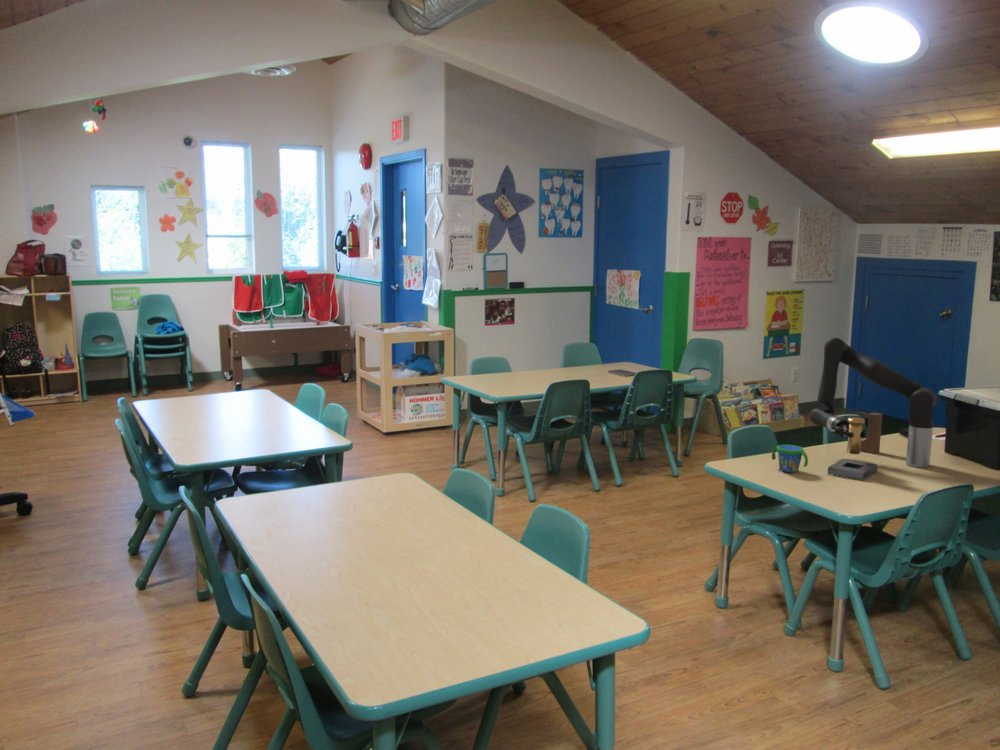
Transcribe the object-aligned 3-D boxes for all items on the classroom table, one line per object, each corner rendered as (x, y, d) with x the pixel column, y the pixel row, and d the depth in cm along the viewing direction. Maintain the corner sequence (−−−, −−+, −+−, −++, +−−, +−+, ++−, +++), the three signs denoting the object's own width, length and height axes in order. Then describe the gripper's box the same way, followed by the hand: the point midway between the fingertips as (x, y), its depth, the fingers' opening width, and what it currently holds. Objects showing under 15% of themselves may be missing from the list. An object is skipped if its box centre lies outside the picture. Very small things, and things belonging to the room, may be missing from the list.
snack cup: (812, 473, 351) (814, 449, 350) (796, 477, 345) (798, 453, 344) (781, 464, 364) (782, 442, 362) (765, 468, 358) (766, 445, 356)
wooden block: (855, 450, 389) (858, 412, 386) (859, 448, 392) (862, 410, 389) (876, 453, 383) (879, 415, 380) (879, 452, 386) (882, 413, 383)
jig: (842, 465, 364) (843, 458, 363) (876, 471, 355) (877, 464, 354) (827, 474, 350) (828, 467, 350) (862, 480, 341) (863, 473, 341)
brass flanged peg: (848, 449, 356) (850, 416, 353) (864, 452, 351) (867, 419, 349) (842, 452, 351) (845, 419, 348) (858, 455, 346) (861, 421, 344)
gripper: (823, 417, 363) (841, 426, 346) (855, 417, 364) (875, 426, 347) (822, 434, 364) (840, 444, 347) (854, 434, 365) (874, 444, 348)
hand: (858, 435), depth 347 cm, fingers closed on brass flanged peg, 5 cm apart
